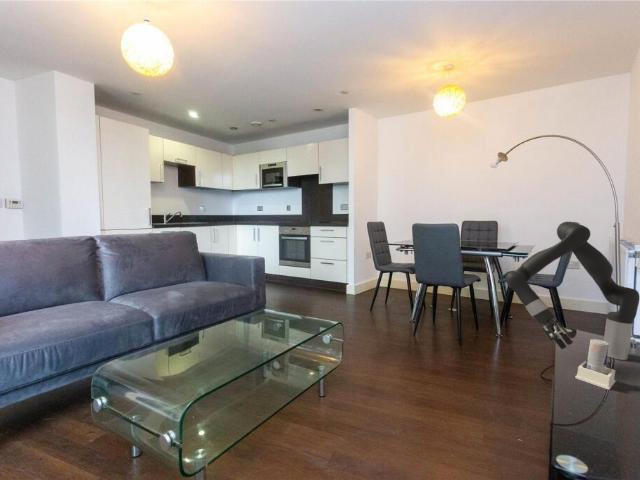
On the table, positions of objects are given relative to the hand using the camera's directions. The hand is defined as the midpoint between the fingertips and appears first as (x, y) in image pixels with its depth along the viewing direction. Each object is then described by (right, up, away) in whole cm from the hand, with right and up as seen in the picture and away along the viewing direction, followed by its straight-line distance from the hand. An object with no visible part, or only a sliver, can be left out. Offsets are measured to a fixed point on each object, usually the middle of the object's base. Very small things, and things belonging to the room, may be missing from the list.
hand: (567, 346), depth 139 cm
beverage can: (+6, -11, -7) cm, 14 cm away
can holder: (+6, -11, -7) cm, 15 cm away
